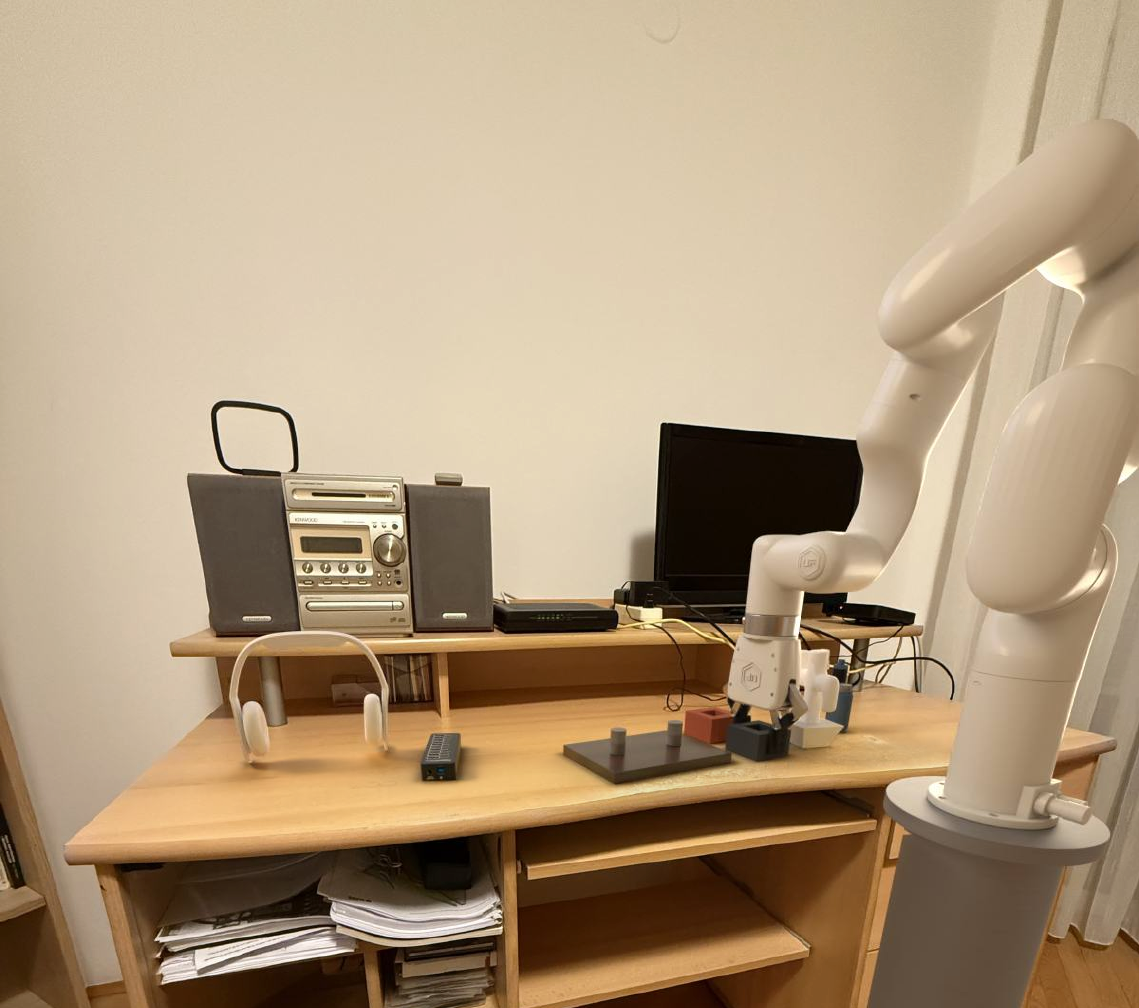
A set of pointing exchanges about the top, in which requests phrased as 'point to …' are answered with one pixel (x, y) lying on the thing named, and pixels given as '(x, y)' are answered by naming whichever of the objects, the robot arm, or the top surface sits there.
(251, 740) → the headset
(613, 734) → the pegboard
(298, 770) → the top surface
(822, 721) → the figurine
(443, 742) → the multiport hub
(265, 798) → the top surface
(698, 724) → the red square holed block
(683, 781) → the top surface
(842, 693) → the vaping device
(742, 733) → the dark grey hollow block
